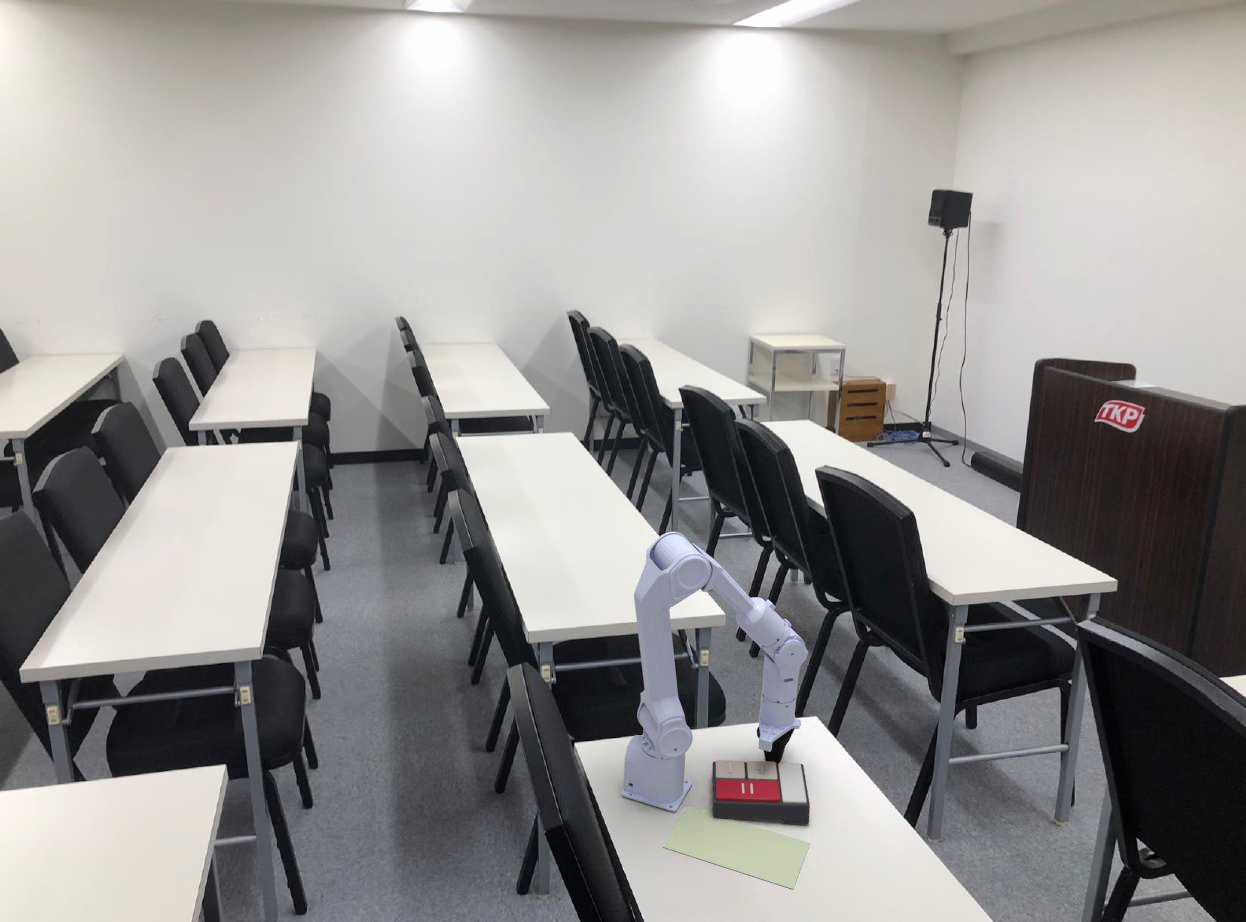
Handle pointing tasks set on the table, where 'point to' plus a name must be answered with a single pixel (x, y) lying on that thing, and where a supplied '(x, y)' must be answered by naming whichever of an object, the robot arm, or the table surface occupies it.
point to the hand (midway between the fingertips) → (772, 764)
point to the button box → (760, 791)
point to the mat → (738, 846)
